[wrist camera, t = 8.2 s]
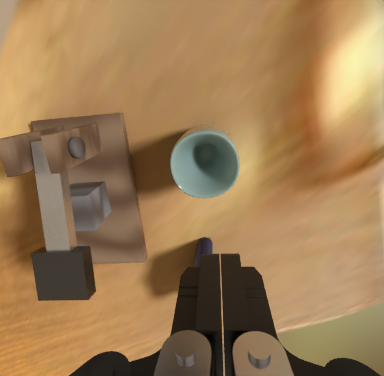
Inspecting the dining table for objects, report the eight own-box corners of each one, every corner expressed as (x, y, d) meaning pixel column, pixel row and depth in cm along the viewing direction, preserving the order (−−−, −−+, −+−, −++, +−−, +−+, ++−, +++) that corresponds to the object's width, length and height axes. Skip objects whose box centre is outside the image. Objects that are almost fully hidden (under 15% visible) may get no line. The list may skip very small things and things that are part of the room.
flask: (209, 283, 47) (207, 336, 36) (192, 281, 47) (186, 333, 37) (214, 237, 43) (213, 280, 33) (196, 235, 44) (190, 278, 33)
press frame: (37, 120, 39) (-39, 132, 27) (123, 112, 38) (81, 122, 26) (75, 259, 47) (29, 314, 35) (147, 257, 46) (124, 314, 34)
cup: (238, 169, 39) (245, 193, 30) (186, 178, 40) (178, 204, 31) (229, 115, 37) (234, 123, 27) (174, 127, 38) (161, 138, 28)
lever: (26, 143, 32) (14, 142, 30) (77, 139, 31) (67, 138, 29) (48, 292, 34) (38, 300, 32) (96, 291, 34) (88, 299, 32)
